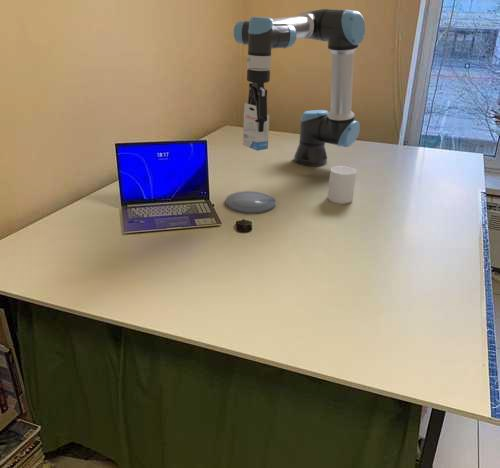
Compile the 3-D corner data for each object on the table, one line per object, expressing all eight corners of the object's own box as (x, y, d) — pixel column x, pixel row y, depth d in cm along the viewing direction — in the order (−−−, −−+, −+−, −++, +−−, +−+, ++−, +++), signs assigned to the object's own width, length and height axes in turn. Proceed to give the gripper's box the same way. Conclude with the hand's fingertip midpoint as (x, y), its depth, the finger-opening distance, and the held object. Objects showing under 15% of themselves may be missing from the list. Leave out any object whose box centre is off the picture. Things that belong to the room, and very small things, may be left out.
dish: (267, 192, 186) (267, 189, 185) (281, 211, 170) (281, 207, 170) (221, 195, 182) (221, 192, 181) (231, 215, 166) (232, 211, 165)
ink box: (268, 149, 167) (271, 105, 160) (257, 151, 164) (259, 107, 157) (253, 143, 173) (254, 101, 166) (242, 145, 170) (243, 102, 163)
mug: (336, 206, 177) (340, 175, 171) (318, 194, 186) (321, 165, 181) (357, 202, 180) (361, 172, 175) (338, 191, 190) (342, 162, 185)
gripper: (239, 64, 165) (237, 129, 175) (256, 73, 146) (253, 146, 156) (260, 64, 167) (257, 128, 177) (280, 73, 148) (275, 145, 158)
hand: (255, 136), depth 167 cm, fingers closed on ink box, 9 cm apart
